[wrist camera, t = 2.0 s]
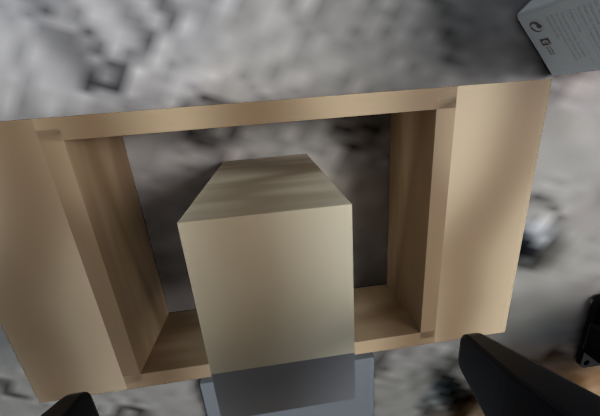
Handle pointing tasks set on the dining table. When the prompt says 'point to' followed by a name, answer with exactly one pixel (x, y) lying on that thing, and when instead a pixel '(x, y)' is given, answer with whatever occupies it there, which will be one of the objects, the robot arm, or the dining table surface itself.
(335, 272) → the box
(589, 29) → the skincare box
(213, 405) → the mat
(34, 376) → the wooden tray
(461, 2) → the dining table surface
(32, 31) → the dining table surface
